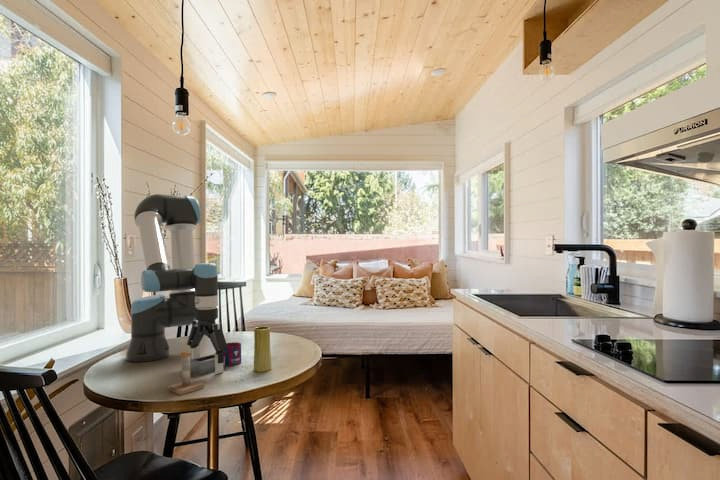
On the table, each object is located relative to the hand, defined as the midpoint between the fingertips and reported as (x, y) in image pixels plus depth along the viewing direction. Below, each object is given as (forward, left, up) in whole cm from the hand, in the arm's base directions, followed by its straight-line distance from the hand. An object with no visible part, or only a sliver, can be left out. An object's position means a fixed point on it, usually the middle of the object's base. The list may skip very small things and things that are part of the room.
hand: (207, 369), depth 143 cm
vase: (+16, +11, 0) cm, 19 cm away
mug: (-1, +10, 0) cm, 10 cm away
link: (0, 0, 0) cm, 0 cm away
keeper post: (+12, -15, 0) cm, 19 cm away
